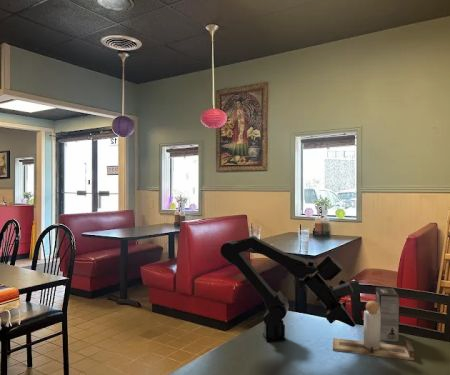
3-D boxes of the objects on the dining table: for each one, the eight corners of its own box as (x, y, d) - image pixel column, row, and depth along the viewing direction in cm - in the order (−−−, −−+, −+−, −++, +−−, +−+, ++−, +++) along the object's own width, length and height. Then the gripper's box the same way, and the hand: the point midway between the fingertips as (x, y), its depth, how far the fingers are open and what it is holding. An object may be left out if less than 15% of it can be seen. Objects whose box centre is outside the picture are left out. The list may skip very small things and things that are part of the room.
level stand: (332, 350, 125) (332, 342, 125) (333, 339, 133) (333, 331, 133) (414, 360, 118) (414, 351, 118) (409, 348, 126) (409, 340, 126)
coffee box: (374, 330, 142) (375, 286, 141) (393, 331, 140) (393, 287, 140) (379, 340, 133) (379, 294, 132) (399, 342, 131) (399, 295, 131)
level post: (364, 348, 124) (364, 302, 123) (363, 342, 129) (363, 297, 128) (380, 350, 122) (381, 304, 122) (379, 343, 127) (379, 299, 127)
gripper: (338, 281, 119) (375, 321, 116) (338, 267, 137) (371, 301, 134) (311, 303, 122) (347, 343, 119) (315, 287, 139) (347, 321, 137)
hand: (354, 325), depth 127 cm, fingers closed
